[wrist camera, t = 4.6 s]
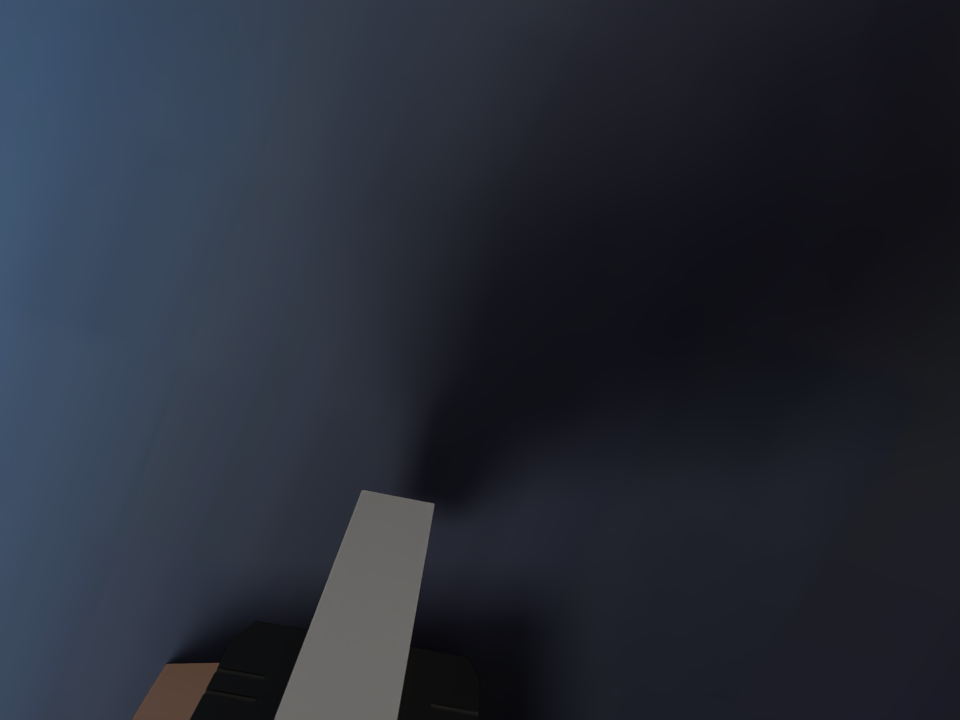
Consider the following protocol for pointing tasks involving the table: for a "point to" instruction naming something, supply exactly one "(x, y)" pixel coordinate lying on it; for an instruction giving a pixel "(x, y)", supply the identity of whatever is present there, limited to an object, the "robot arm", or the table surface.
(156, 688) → the tan brown block
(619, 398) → the table surface
